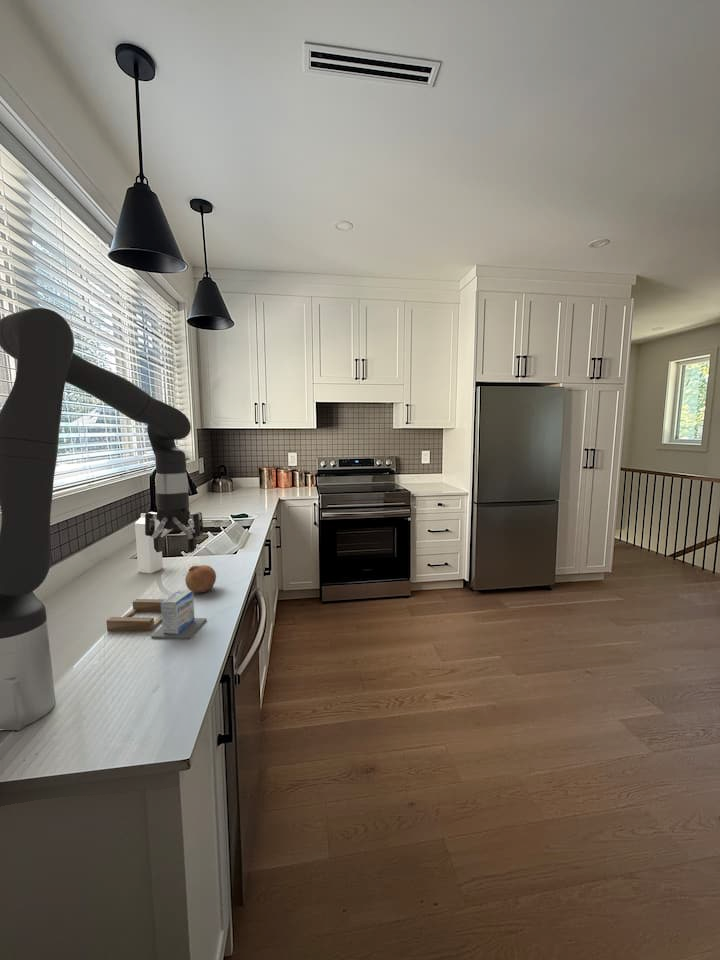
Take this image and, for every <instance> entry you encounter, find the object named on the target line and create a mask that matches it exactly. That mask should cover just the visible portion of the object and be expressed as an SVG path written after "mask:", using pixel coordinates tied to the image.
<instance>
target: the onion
mask: <svg viewBox="0 0 720 960" xmlns="http://www.w3.org/2000/svg"><path fill="white" fill-rule="evenodd" d="M186 573H187V574H186V575H185V578H184V579H185V581H184V582H185V585H186V588H187V589H188V591H193V594H194V593H195V594H200V593H207V592H209V591H211V590H212V589H213V587H214V584H215V583H216V581H217V574H216V571H215V569H214V568H213V567H212V566H210V565H207V564H205V565H204V564H202V565H192V566H190V568H189V569H188V571H187V572H186Z"/></svg>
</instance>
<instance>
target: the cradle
mask: <svg viewBox="0 0 720 960" xmlns="http://www.w3.org/2000/svg"><path fill="white" fill-rule="evenodd" d="M165 599H166V598H162V599H160V598H157V599H156V598H136V599H135V600H133V601H132V609H131V610H130V611H129V612H127V613H126V614H125V615H123V616H110V617H109V618H107V619H106V629H107V630H106V632H127V633H128V632H130V633H133V632H134V633H135V632H137V633H143V632H144V633H148V632H149V633H151V632H152V631H153V630H154V629H155V628H157V626H159V624H162V615H161V614H160V616H158V617H157V618H156V619H155V618H154V617H147V616H146V617H145V616H144V617H143V616H142V617H141V616H139V617H138V616H137V617H136V616H133V615H135V614H136V613H139V612H140V613H141V612H142V613H143V612H144V613H161V602H162V601H164V600H165ZM132 616H133V617H132Z"/></svg>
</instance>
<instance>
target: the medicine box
mask: <svg viewBox="0 0 720 960" xmlns="http://www.w3.org/2000/svg"><path fill="white" fill-rule="evenodd" d="M164 599H165V600H164V601H162V602H161V612H160V616H161V615H162V622H161V625H162V626H161V627H162V628H163V633H167V634H179V633H180V632H181V631H183V630H184V629H185V628H186V627H187V626H188V625H189V624H191V623H192V622H193V621H194V620H195V618H196V617H195V606H194V604H195V603H194V592H193V591H190V590H184V589H182V590H178V591H175V593H174V594H171V595H170V596H168V597H167V598H164Z"/></svg>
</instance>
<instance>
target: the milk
mask: <svg viewBox="0 0 720 960" xmlns="http://www.w3.org/2000/svg"><path fill="white" fill-rule="evenodd" d="M145 514H146V513H144V512H143V513H140V517H139V519H138V520H136V521H135V522H134V531H135V543H136V556H137V559H136V561H137V572H139V573H142V574H153V573H156V572H157V571H160V570H162V569H164V566H163V563H164V562H163V550H162V551H161V552H156V550H155V549H154V540H153V537H151V536H146V535H145ZM159 524H160V521H159V520H158V519H157V518H156V520H155V531H156V528H157V527H158V525H159Z"/></svg>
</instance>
